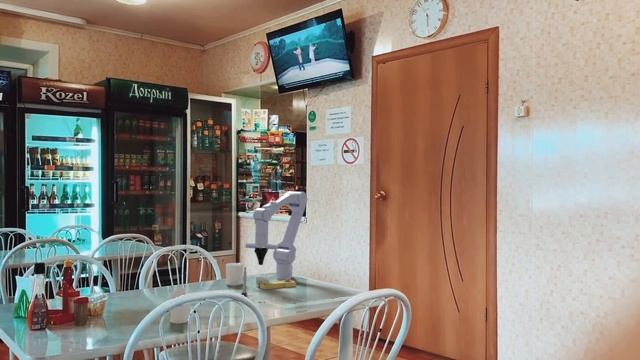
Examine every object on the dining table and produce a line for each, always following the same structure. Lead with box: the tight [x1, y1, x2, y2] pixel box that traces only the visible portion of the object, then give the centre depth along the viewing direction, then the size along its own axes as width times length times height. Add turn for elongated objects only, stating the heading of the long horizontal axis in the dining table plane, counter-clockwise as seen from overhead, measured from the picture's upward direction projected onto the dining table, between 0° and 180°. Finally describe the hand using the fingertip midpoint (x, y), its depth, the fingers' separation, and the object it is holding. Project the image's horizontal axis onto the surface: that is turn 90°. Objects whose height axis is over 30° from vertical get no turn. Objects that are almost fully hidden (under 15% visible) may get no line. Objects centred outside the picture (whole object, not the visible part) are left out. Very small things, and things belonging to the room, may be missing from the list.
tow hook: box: [240, 266, 253, 297], centre depth 219 cm, size 8×13×9 cm
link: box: [259, 279, 297, 290], centre depth 233 cm, size 16×5×2 cm, turn 125°
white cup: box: [225, 262, 244, 286], centre depth 237 cm, size 8×8×10 cm
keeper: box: [255, 276, 270, 288], centre depth 230 cm, size 2×8×4 cm, turn 34°
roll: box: [169, 285, 190, 325], centre depth 179 cm, size 6×12×6 cm
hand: (260, 264), depth 239 cm, fingers closed
